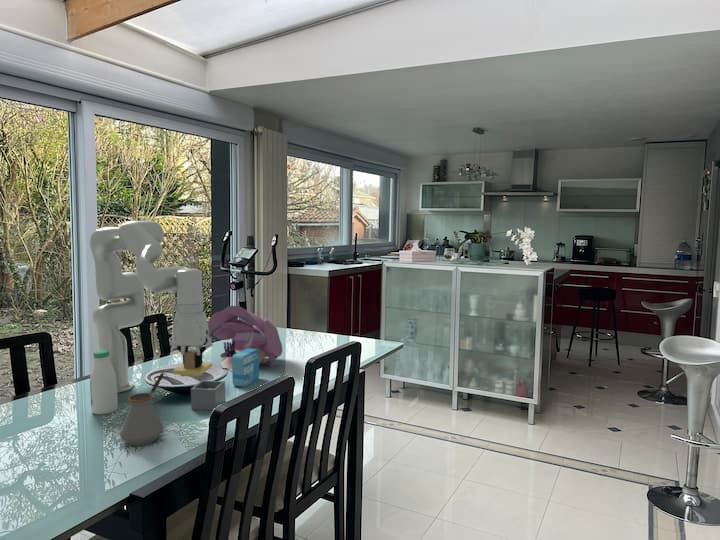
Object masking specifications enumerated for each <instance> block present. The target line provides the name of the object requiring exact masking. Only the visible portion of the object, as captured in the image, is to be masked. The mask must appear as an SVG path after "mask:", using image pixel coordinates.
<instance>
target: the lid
mask: <svg viewBox="0 0 720 540" xmlns="http://www.w3.org/2000/svg"><path fill="white" fill-rule="evenodd" d="M195 356H196V348H190V349H188V351H187V352H185V353H184V363H185V368H184V364H183V363H182V364H181V365H179V366H178V367H176V368H175V369H173V370H172V375H180V377H199V376H202V375H203V374H204V373H206V371H208V370H210V369H211V368H212V367H213V362H202V365H201V366H200V367H198V368H196V367H195Z"/></svg>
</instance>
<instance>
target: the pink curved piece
mask: <svg viewBox="0 0 720 540" xmlns="http://www.w3.org/2000/svg"><path fill="white" fill-rule="evenodd" d="M238 318H239V319H238ZM207 322H208V329H209V333H211V332H213V331H214V332H213V334H212V335H213V337H214V338H215V337H216V338H217V339H218V340H222V341H225V342H223V350H224V352H223V353H221V354H220V358H221V359H222V362H221V363H220V366H221V365H223V366H224V367H226V368H227V369H228V370H227V369H226V370H227V371H231V372H232V357H233V355H235V354H237V353H239V352H241V351H243V350H245V349H247V348H248V349H257V350H258V351H259V364H260V363H261V362H263V361H264V360H265V359H266V358H267V361H266V364H268V365H269V366H271V367H273V366H274V363H275V360H276V359H278V357H281V356H282V354H283V345H282V341H281V338H280V335H279V332H278V328H277V327H276V326H275V325H274V324H273V323H272V322H271V321H270V320H269V319H268V318H266V319H262V318H261V317H260V316H258V315H257V314H255V313H253V312H251V311H249V310H247V309H246V308H244V307H242V306H239V305H238V306H237V305H229V306H226V307H225V308H224V309H223V310H220V311H218V312H214V313H213V314H212V315H211V316H210V318H209V319H208V320H207ZM228 340H231V342H229V341H228ZM226 341H227V342H226Z"/></svg>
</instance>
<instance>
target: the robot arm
mask: <svg viewBox="0 0 720 540" xmlns="http://www.w3.org/2000/svg"><path fill="white" fill-rule="evenodd" d="M164 238H165V232H164V228H163V227H162V225H161V224H160V223H159V222H158V221H155V220H131V221H126V222H124V223H122V224H121V225H120V226H111V227H101V228H97V229H96V230H94V231H93V232H92V234H91V236H90V239H89V245H90V246H89V247H90V251H91V254H92V257H93V260H94V267H95V268H94V269H95V271H94V273H95V287H96V289H95V290H96V294H97V297H98V298H99V300H102V301H116V300H122V299H126V301H120V302H112V303H106V304H102V305H100V306H98V307H97V308H95V310H94V311H93V313H92V319H93V324H94V327H95V334H96V339H97V340H96V341H97V351H99V350H108V351H109V356H110V357H109V361H110V364H111V365H112V367H113V369H114V371H115V374H116V384H117V394H119V393H122V392H126V391H128V390H131V389H133V387H134V382H133V381H132V380H130V377H129V361H128V360H129V359H128V345H127V344H128V343H127V339H126V336H125V335H124V334H123V333H122V332H121V329H124V328H128V327H134V326H138V325H140V324H142V322H144V318H145V290H144V289H145V288H146V289H147V290H149V291H150V292H151V293H152V292H153V293H155V294H160V293H167V292H173V291H175V292H176V302H177V303H176V304H173V309H174V310H176V313H174V318H173V325H172V341H171V345H170V346H171V347H173V348H175V349H176V350H177V351H178V352H180V355H182V364H184V368H185V363H184V353H185V352H187V351H188V350H189V347H195V349H196V356H195V367H196V368H198V367H200V366H201V365H202V363H204V362H203V354H204V352H205V351H206V350H207V349H210V348H211V347H213V346H214V344H213V342H212V340H211V339H210V332H209V329H208V319H207V313H206V312H205V311H204V299H203V297H204V296H203V294H204V293H203V275H202V271H201V270H200V269H199V268H193V267H192V268H190V267H187V266H184V265H179V266H178V265H177V266H168V267H158V268H157V267H154V266H153V264H154V263H156V262H158V261H159V259H161V256H162V255H163V245H162V242H163V240H164ZM127 251H128V252H129V251H130V252H131V253H132V254H133V255H134V256H135V258H136V261H135V271H136V272H133V271H127V272H123V270H122V269H123V268H122V266H123V265H122V261H121V258H120V257H119V256H118V254H117V253H116V252H127ZM144 287H145V288H144Z"/></svg>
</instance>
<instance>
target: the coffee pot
mask: <svg viewBox="0 0 720 540" xmlns="http://www.w3.org/2000/svg"><path fill="white" fill-rule="evenodd" d="M164 376H166V377H164ZM167 377H168V375H167V374H166V373H164V372H161V373H160V374H159V376H158V378H157V380H156V381H155V382H154V384H153V385H152V388H151V390H150V392H149V393H148V392H141V393H135V394H132V395H129V396H128V398H127V400H128V402H130V403H129V404H130V407H129V410H128V412H127V415H126V417H125V419H124V422H123V425H122V427H121V429H120V433H119V436H120V438H121V439H122V440H123V441H124V442H126V444H128V443H129V444H128V445H130V446H135V447H136V446H137V447H139V446H146V445H149V444H151V443H154V442H155V441H156V440H157V439H158V438H159V437H160V436H161V434H162V433H163V431H164V425H163V423H162V421H161V419H160V418H159V416H158V414H157V412H156V409H154V406H153V404H152V403H151V402H152V399H153V396H154V395H153V394H154V392H155V391H156V389H157V388H158V387H159V385H160V383H161V381H162V380H163V379H166V378H167Z"/></svg>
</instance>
